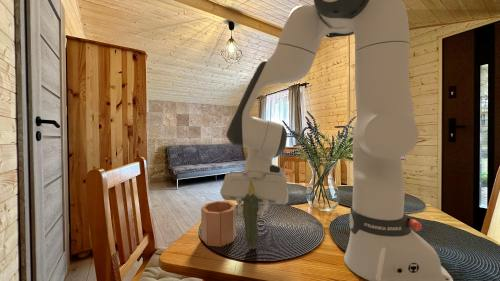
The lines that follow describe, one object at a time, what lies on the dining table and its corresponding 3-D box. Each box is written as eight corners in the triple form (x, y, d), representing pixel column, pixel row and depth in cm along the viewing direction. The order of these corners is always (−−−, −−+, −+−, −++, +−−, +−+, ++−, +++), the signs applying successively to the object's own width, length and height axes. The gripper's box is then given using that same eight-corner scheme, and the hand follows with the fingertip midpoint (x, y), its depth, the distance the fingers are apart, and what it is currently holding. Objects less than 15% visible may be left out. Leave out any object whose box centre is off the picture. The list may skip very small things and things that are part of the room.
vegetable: (257, 254, 64) (256, 183, 62) (241, 253, 64) (240, 182, 63) (259, 246, 68) (259, 179, 66) (245, 244, 69) (244, 178, 67)
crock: (238, 231, 77) (238, 202, 76) (230, 247, 67) (230, 214, 66) (209, 228, 79) (209, 200, 78) (198, 244, 69) (197, 212, 68)
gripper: (223, 166, 73) (212, 207, 65) (289, 168, 68) (285, 213, 60) (228, 176, 78) (218, 216, 70) (290, 179, 73) (287, 223, 64)
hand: (250, 215), depth 65 cm, fingers closed on vegetable, 4 cm apart
